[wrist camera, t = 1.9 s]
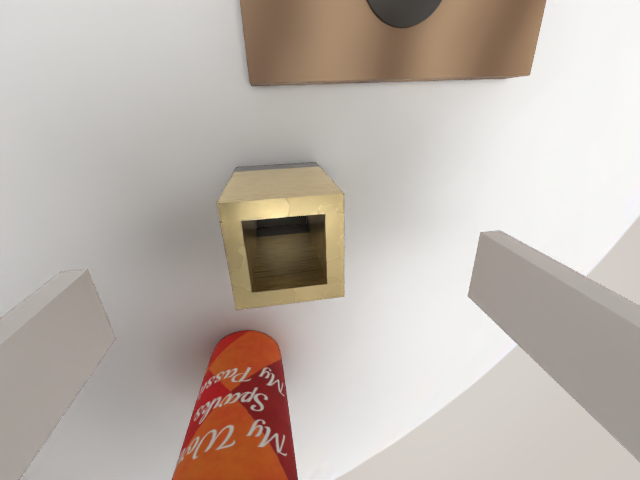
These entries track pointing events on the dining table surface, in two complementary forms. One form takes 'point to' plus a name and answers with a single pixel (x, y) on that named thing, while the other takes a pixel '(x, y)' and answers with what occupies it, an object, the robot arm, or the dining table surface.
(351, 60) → the pin board
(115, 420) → the dining table surface
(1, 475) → the robot arm
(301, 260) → the sleeve
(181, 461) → the paper cup
